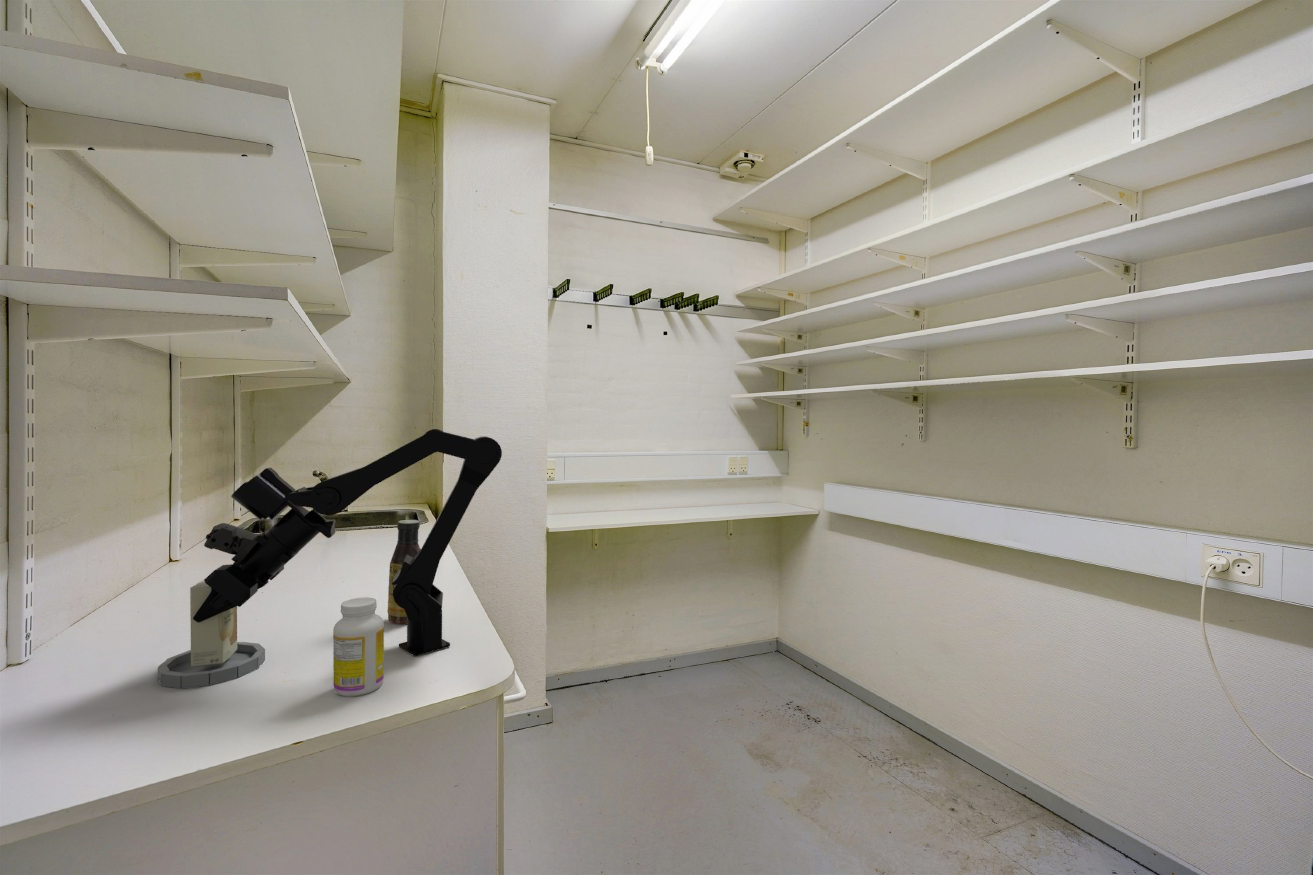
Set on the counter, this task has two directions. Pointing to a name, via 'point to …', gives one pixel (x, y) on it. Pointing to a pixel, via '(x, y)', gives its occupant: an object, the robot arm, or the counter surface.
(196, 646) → the skincare box
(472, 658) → the counter surface
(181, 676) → the round tray
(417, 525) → the sauce bottle
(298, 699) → the counter surface
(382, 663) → the supplement bottle
